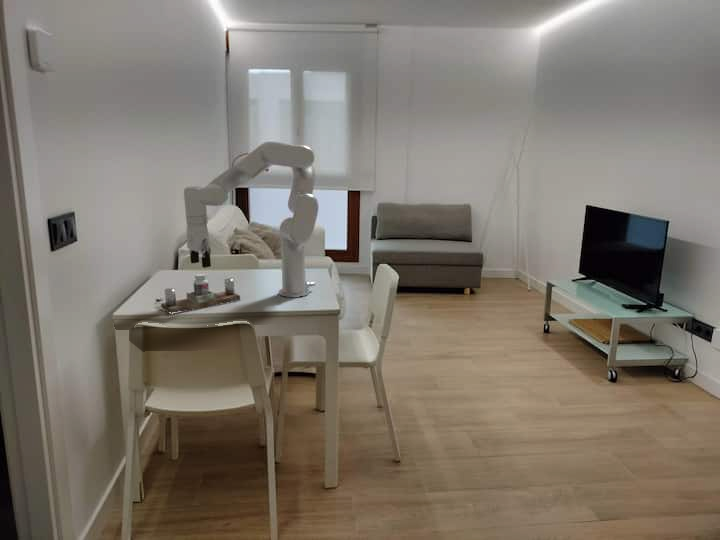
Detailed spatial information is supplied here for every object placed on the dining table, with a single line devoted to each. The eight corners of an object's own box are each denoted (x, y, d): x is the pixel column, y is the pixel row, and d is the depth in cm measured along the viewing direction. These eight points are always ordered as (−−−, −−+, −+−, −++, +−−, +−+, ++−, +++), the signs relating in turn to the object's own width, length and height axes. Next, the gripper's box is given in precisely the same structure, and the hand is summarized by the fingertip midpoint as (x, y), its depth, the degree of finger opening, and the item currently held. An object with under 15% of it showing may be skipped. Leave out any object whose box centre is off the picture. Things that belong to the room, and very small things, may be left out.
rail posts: (231, 292, 215) (231, 277, 214) (236, 294, 213) (235, 279, 211) (164, 305, 198) (163, 289, 196) (168, 307, 195) (167, 291, 194)
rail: (229, 295, 218) (228, 284, 217) (240, 300, 211) (239, 289, 210) (161, 308, 200) (160, 297, 199) (171, 314, 193) (170, 302, 192)
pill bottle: (205, 301, 202) (203, 276, 200) (192, 300, 203) (190, 276, 201) (211, 297, 207) (210, 273, 205) (198, 297, 208) (197, 272, 206)
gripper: (177, 218, 202) (181, 262, 206) (197, 223, 189) (201, 270, 194) (196, 216, 207) (200, 259, 211) (217, 221, 194) (220, 267, 198)
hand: (200, 264), depth 202 cm, fingers open, 9 cm apart
